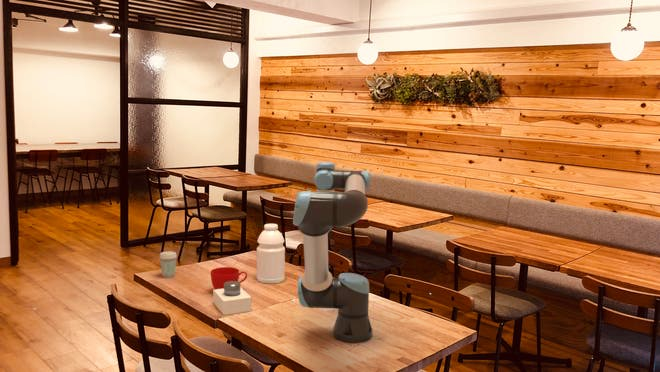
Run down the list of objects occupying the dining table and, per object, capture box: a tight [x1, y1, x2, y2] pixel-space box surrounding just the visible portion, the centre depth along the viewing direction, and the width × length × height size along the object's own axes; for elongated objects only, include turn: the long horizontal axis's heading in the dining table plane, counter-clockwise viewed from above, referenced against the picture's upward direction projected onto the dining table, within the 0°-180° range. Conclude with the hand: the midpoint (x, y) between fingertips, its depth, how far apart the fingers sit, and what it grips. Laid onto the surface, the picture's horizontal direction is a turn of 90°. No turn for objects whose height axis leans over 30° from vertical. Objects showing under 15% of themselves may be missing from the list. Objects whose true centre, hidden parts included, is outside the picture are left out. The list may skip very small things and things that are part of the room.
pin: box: [224, 281, 241, 296], centre depth 248 cm, size 7×7×10 cm
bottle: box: [255, 223, 286, 285], centre depth 286 cm, size 14×14×28 cm
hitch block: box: [212, 286, 252, 316], centre depth 248 cm, size 16×12×6 cm
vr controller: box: [320, 308, 338, 312], centre depth 249 cm, size 8×12×7 cm
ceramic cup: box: [210, 266, 248, 290], centre depth 268 cm, size 13×17×10 cm
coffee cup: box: [158, 251, 178, 279], centre depth 289 cm, size 8×8×12 cm
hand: (324, 253), depth 245 cm, fingers closed
